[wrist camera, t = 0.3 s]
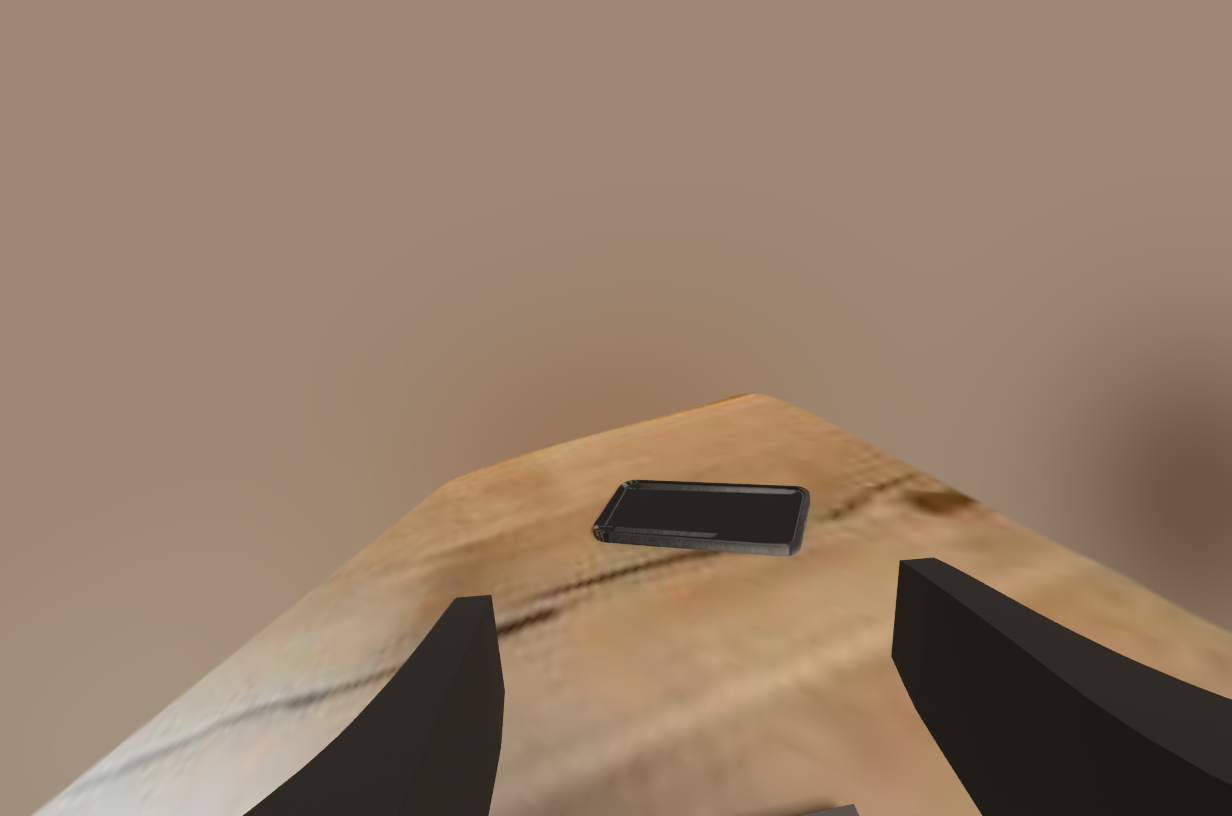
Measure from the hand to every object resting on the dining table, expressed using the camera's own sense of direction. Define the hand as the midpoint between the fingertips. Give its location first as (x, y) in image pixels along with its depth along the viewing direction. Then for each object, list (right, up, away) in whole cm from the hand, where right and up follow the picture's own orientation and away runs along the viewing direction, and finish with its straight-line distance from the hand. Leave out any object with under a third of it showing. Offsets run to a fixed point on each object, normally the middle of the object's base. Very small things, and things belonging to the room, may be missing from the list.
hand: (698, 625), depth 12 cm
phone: (+5, -5, +40) cm, 40 cm away
